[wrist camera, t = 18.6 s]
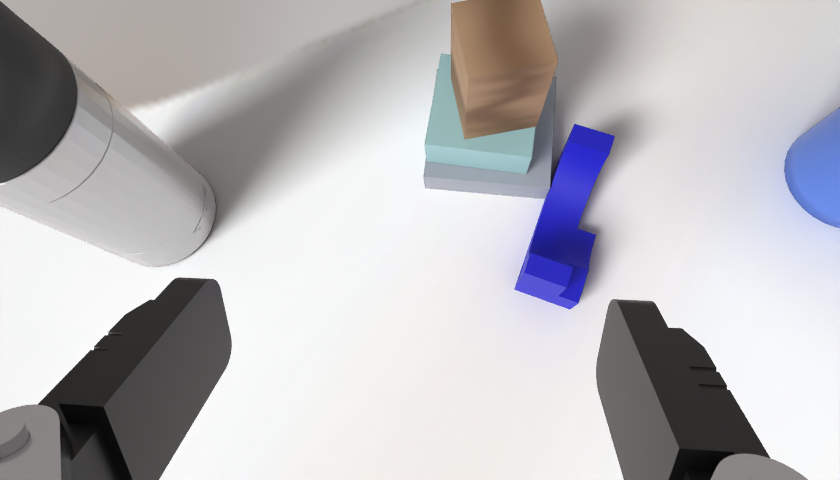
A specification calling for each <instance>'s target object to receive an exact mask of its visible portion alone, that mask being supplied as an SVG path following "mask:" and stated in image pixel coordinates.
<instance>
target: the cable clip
mask: <svg viewBox="0 0 840 480" xmlns="http://www.w3.org/2000/svg"><path fill="white" fill-rule="evenodd" d="M614 137H615V136H613V135H610V134H606V133H603V132H600V131H596V130H593V129H590V128H586V127H583V126H580V125H576V124H574V127H573V129H572V131H571V133H570V135H569V138H568V140H567V142H566V144H565V147H564V149H563V151H562V153H561V156H560V158H559V160H558V163H557V166H556V169H555V172H554V175H553V178H552V181H551V184H550V189H549V191H548V193H547V196H546V198H545V201H544V204H543V207H542V210H541V213H540V216H539V219H538V222H537V225H536V228H535V231H534V233H533V236H532V239H531V242H530V245H529V248H528V251H527V254H526V257H525V260H524V263H523V266H522V268H521V271H520V274H519V277H518V280H517V283H516V286H515V290H518V291H520V292H523V293H526V294H529V295H531V296H534V297H537V298H540V299H543V300H545V301H548V302H551V303H554V304H556V305H559V306H562V307H565V308H568V309H571V308H573V307H574V306H575V305H577V304H578V303H579V300H580V296H581V293H582V290H583V287H584V283H585V280H586V277H587V274H588V270H589V261H590V256H591V251H592V247H593V244H594V240H595V237H596V235H595V234H592V233H589V232H586V231H583V230H580V229H577V228H578V225H579V222H580V219H581V216H582V213H583V210H584V208H585V205H586V202H587V200H588V197H589V195H590V192H591V190H592V187H593V185H594V183H595V181H596V178H597V176H598V174H599V172H600V170H601V168H602V166H603V164H604V162H605V160H606V158H607V157H608V155H609V153H610V150H611V147H612V144H613V140H614Z"/></svg>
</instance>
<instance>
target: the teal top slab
mask: <svg viewBox="0 0 840 480" xmlns="http://www.w3.org/2000/svg"><path fill="white" fill-rule="evenodd" d="M534 134H535V127H532V128H526V129H520V130H515V131H509V132H504V133H498V134H493V135H487V136H481V137H476V138H470V139H465V140H464V136H463V131H462V126H461V122H460V117H459V113H458V108H457V103H456V99H455V94H454V90H453V85H452V81H451V55H447V54H441V57H440V62H439V68H438V73H437V79H436V84H435V90H434V95H433V101H432V106H431V112H430V117H429V123H428V128H427V134H426V139H425V152H426V161H427V162H435V163H443V164H451V165H458V166H466V167H474V168H482V169H489V170H497V171H505V172H513V173H521V174H526V173H527V170H528V167H529V164H530V161H531V158H532V151H533V142H534Z"/></svg>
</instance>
